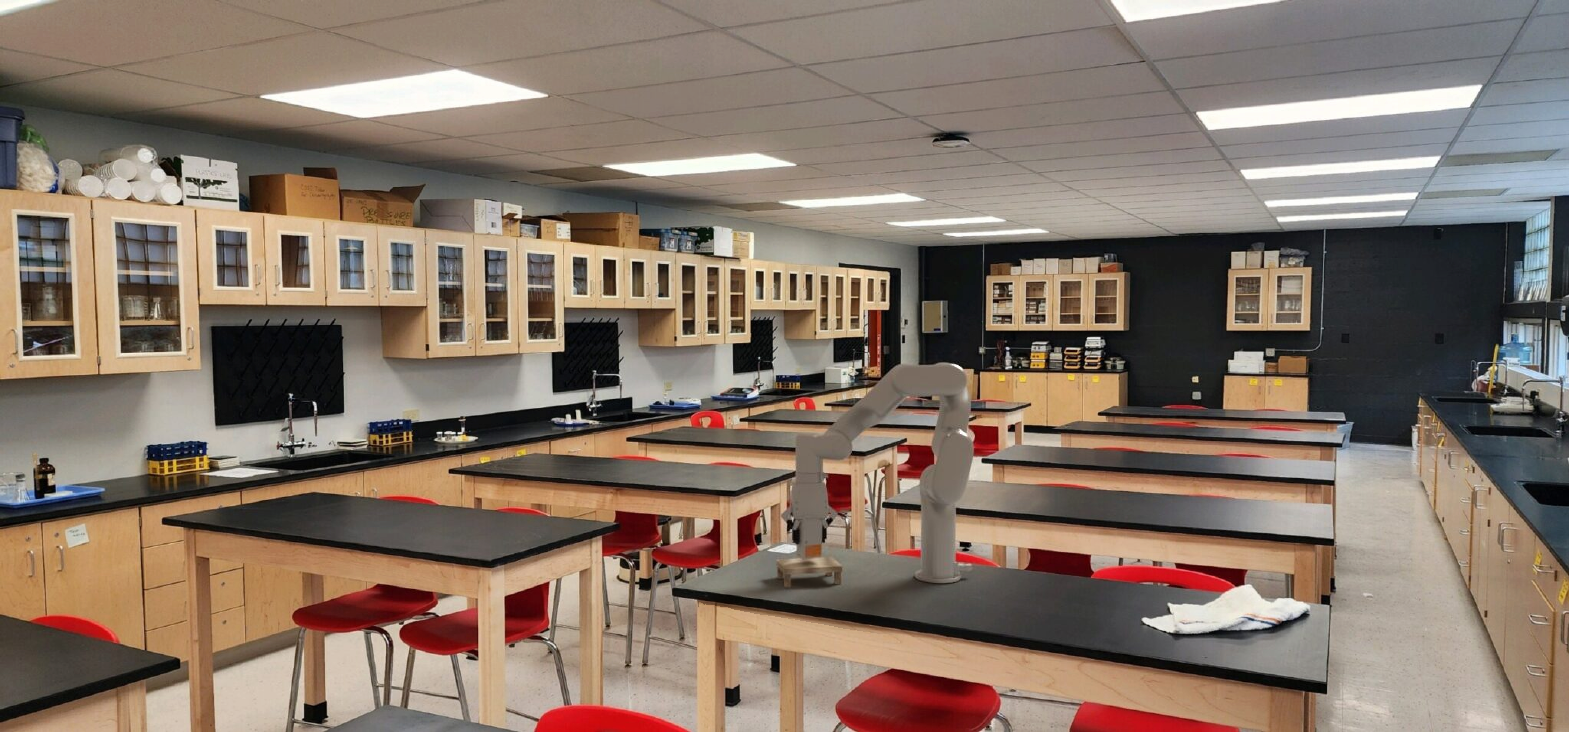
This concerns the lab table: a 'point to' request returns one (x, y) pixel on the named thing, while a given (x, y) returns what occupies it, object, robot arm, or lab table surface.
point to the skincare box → (810, 538)
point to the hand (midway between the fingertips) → (809, 542)
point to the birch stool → (808, 568)
